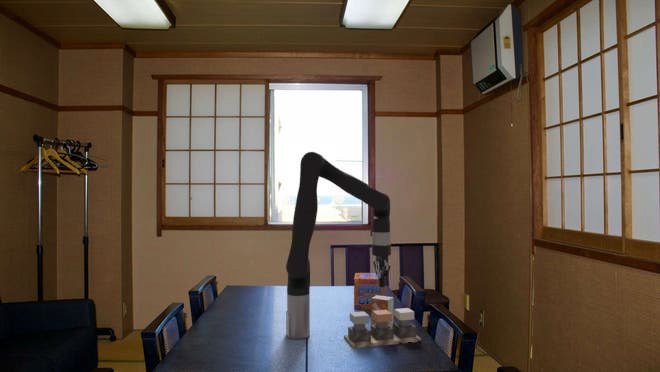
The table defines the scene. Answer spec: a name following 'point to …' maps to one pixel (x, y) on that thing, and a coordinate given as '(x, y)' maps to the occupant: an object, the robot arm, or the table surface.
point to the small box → (382, 306)
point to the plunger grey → (359, 320)
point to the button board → (381, 336)
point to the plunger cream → (404, 316)
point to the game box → (366, 290)
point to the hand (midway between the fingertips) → (381, 286)
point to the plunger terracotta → (382, 318)
